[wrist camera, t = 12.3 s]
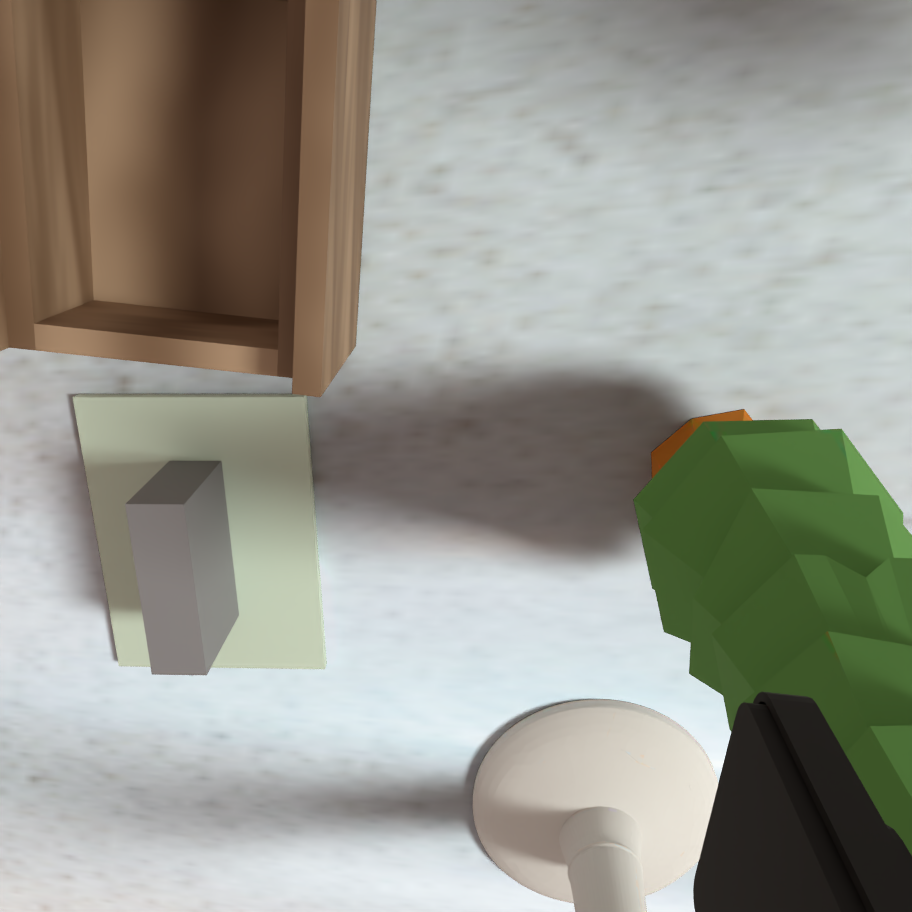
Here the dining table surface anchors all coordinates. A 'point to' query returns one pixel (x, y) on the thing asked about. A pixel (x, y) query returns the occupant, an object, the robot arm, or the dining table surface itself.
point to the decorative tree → (789, 582)
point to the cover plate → (253, 509)
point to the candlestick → (595, 803)
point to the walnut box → (185, 181)
